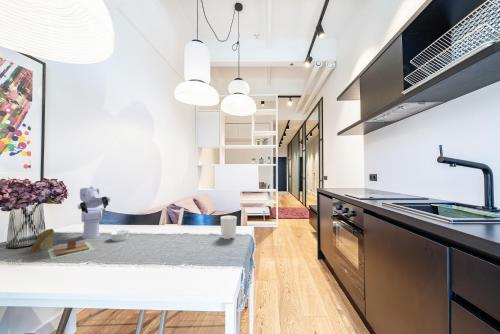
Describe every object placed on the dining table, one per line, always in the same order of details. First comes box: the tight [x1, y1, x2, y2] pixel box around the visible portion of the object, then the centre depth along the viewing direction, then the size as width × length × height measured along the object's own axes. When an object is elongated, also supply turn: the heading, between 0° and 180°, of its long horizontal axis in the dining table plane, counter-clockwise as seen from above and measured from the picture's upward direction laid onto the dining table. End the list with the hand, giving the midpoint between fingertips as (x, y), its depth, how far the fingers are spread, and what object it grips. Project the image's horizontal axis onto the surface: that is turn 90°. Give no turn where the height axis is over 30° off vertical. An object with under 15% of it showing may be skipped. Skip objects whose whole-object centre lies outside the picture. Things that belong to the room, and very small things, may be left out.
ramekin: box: [110, 229, 130, 242], centre depth 123 cm, size 9×9×4 cm
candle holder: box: [220, 215, 238, 240], centre depth 129 cm, size 10×10×12 cm
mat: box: [47, 241, 95, 260], centre depth 106 cm, size 16×16×1 cm
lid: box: [53, 238, 89, 256], centre depth 106 cm, size 12×12×5 cm
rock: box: [29, 228, 55, 254], centre depth 106 cm, size 11×9×10 cm
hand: (95, 209), depth 112 cm, fingers open, 7 cm apart
